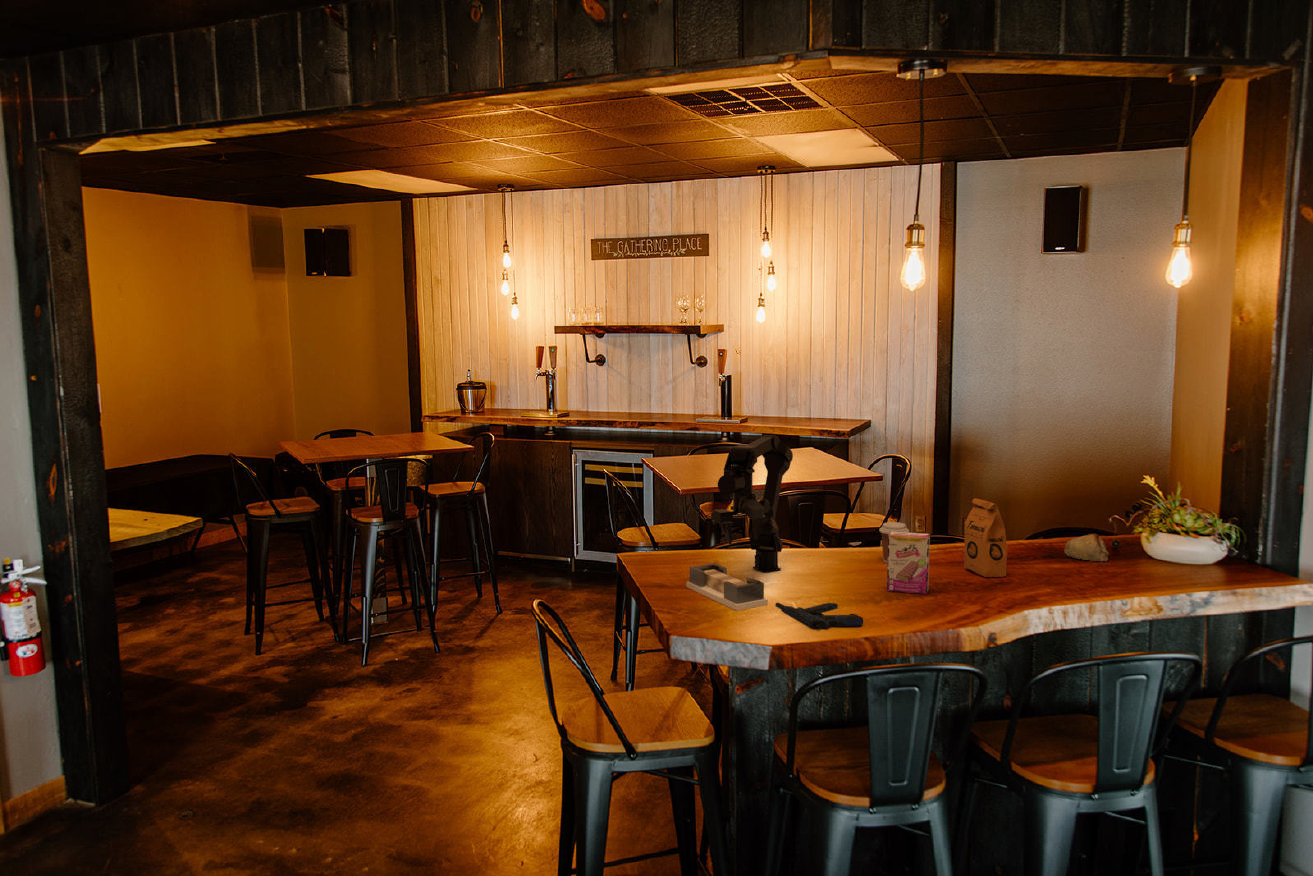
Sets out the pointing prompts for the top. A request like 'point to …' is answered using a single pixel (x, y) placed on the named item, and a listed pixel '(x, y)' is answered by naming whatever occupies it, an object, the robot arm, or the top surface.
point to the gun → (821, 616)
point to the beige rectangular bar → (719, 580)
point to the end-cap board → (720, 598)
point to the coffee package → (985, 540)
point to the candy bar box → (908, 562)
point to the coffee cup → (885, 532)
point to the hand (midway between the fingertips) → (743, 542)
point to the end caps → (729, 584)
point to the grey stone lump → (1087, 548)
